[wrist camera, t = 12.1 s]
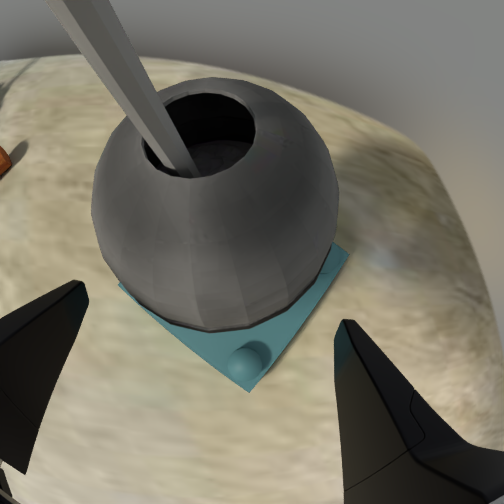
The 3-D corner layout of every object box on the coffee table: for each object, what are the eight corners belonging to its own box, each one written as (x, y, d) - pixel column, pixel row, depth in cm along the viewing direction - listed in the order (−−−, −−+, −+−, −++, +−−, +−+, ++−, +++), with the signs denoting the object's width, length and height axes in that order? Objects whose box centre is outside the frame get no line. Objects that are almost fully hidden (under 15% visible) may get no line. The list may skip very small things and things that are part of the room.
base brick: (341, 260, 22) (353, 251, 20) (249, 386, 20) (249, 395, 17) (221, 175, 24) (218, 158, 21) (128, 288, 21) (113, 283, 19)
